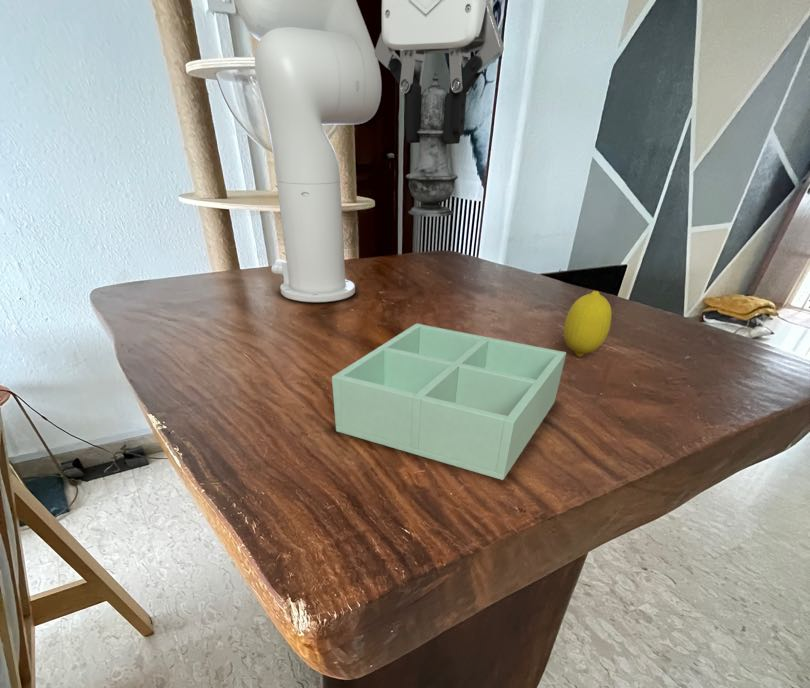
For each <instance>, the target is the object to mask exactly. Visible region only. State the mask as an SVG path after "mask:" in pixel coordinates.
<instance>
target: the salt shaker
mask: <svg viewBox="0 0 810 688" xmlns="http://www.w3.org/2000/svg"><path fill="white" fill-rule="evenodd" d="M431 79H432V82H433V83H432V84H430V86H428V87H426V88H425V89H424V90H423V91H422V92H421V94H422V97H421V129H420V130H419V131H417V133H418V134H419V136H420V143H419V145H418V146H419V148H418V149H419V150H418V151H419V152H418V153H419V154H418V160H417V163H416V164H417V165H416V167H415V169H414V170H412V172H411V173H408V174H406V175H405V178H406V179H408V188H409V192H410V195H411V196H412V197H413V198H414V200H415V201H418V202H419V203H421V204H420V205H418V206H412V207H411V209H409V210H408V212H407V213H408V214H409V215H411V216H417V217H433V218H434V217H447V216H452V215H453V214H454V211H453V210H451V209H450V207H447V206H443V205H442V203H443V202H445V201H447V200H449V198H450V197H451V196H452V194H453V191H454V189H455V181H456V180H457V179H458V178H459V177H458V175H457V174H454V173H453V172H452V171H451V170H450V169H449V167H448V166H449V165H448V159H447V150H448V148H447V146H448V144H445V142H443V129H444V108H445V96H446V94H447V93H448V91H447V90H446V88H444V87H443V86H441V84H439V83H438V81H439V80H440V78H439V76H438V74H437V73H434V75H433V78H431Z"/></svg>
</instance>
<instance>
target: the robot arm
mask: <svg viewBox="0 0 810 688" xmlns="http://www.w3.org/2000/svg"><path fill="white" fill-rule="evenodd" d="M233 2H234V5H235V7H236V9H237V12H238V14H239V16H240V18H241V21H242V22H243V24H244V26H245V28H246V29H247V31H248V32H249V33H250V35H251V36H252V37H253V38H254V39H256V40H257V41H258V43H257V47H256V49H255V54H254V71H255V78H256V84H257V88H258V92H259V97H260V100H261V103H262V107H263V111H264V116H265V119H266V123H267V128H268V132H269V133H268V134H269V138H270V144H271V149H272V157H273V165H274V172H275V179H276V187H277V196H278V203H279V205H278V206H279V212H280V220H281V229H282V237H283V244H284V253H285V259H280V258H279V259H278V258H277V259H275V261H274V263H273V265H271V273H272V274H273V275H281V276H282V277H283V282H282V283H281V284H280V286H279V288H280V294H281V295H282V296H283V297H284V298H286V299H289V300H291V301H296V302H302V303H330V302H338V301H341V300H346V299H348V298H351V297H352V296H353V295H354V294H355V293H356V285H355V283H354V282H353V281H351V280H349V279H346V266H345V265H346V264H345V245H344V226H343V208H342V191H341V187H342V186H341V172H340V171H341V170H340V164H339V160H338V159H339V158H338V155H337V153H336V151H335V149H334V146H333V144H332V143H331V142H332V141H330V138H329V136H328V135H327V132H326V131H325V129H324V127H323V126H327V125H329V126H330V125H331V126H333V125H335V126H336V125H340V126H341V125H343V126H344V125H345V126H346V125H347V126H348V125H349V126H350V125H351V126H352V125H360V124H364V123H366V122H369V120H371V119H372V118H374V116H375V115H376V113H377V111H378V109H379V106H380V103H381V97H382V75H381V68H380V64H379V62H380V63H381V64H382V65H383V66H384V67H385V68H386V69H388V70H389V72H390V73H391V75H392V76H393V78H394V80H395V81H396V82H397V84H398V86H399V90H400V92H401V93H402V94H404V97H403V99H404V103H403V104H404V107H403V109H404V113H403V114H404V115H403V118H404V120H403V127H404V133H406V143H408V144H420V136H419V134H418V133H417V131H419V130H420V129H421V97H422V84H423V78H424V77H423V76H424V69H425V61H426V54H427V55H428V54H429V55H430V54H448V63H449V81H450V85H449V92H447V94H446V96H445V108H444V129H443V142H445V144H447V145H455V144H456V145H458V144H460V140H461V135H463V134H464V130H465V121H466V120H465V119H466V105H467V95H468V94H469V93H470V92H471V91H472V87H473V85H474V84H475V83H476V81H477V80H478V79H479V77H480V76H481V75H482V74H483V72H484V71H485V69H487V68H488V67H489V66H491V65H492V64H493V63H494V62H495V61H496V60H497V59H499V58H500V57H501V56H502V55H503V53H504V50H505V47H504V43H503V40H502V37H501V33H500V31H499V27H498V24H497V20H496V17H495V13H494V0H381V31H380V34H379V37H378V39H377V43H376V46H375V47H374V44H373V42H372V39H371V36H370V33H369V30H368V28H367V25H366V23H365V20H364V18H363V15H362V12H361V9H360V7H359V5H358V1H357V0H233ZM396 51H403V52H402V58H400V56H399V55H398V54H397V53H396ZM476 51H478V52H476ZM472 52H476V54H474V55H472V56H471V53H472Z"/></svg>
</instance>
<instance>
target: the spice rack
mask: <svg viewBox="0 0 810 688" xmlns="http://www.w3.org/2000/svg"><path fill="white" fill-rule="evenodd" d="M566 357H567V352H566V351H561V350H556V349H551V348H547V347H546V348H545V347H541V346H535V345H529V344H525V343H520V342H514V341H510V340H504V339H499V338H494V337H489V336H483V335H478V334H473V333H468V332H463V331H457V330H453V329H447V328H441V327H437V326H432V325H426V324H422V323H418V322H417V323H414V324H413V325H411V326H410V327H408V328H407V329H405V330H404V331H401V332H400V333H399V334H397V335H396V336H393V338H391V339H389V340H388V341H386V342H384V343H383V344H382V345H379V346H378V347H376V348H375V349H374V350H372V351H370V352H368V353H367V354H366V355H364V356H362V357H361V358H358V360H356V361H354V362H353V363H351V364H350V365H347V366H346V367H345V368H343V369H342V370H340V371H339V372H337V373H335V374H334V375H332V376H331V385H332V397H333V409H334V412H333V413H334V421H335V422H334V423H335V431H336V432H338V433H340V434H344V435H347V436H352V437H354V438H358V439H361V440H365V441H368V442H371V443H375V444H378V445H381V446H384V447H389V448H392V449H395V450H399V451H402V452H406V453H409V454H412V455H416V456H419V457H423V458H426V459H429V460H432V461H436V462H440V463H442V464H446V465H450V466H453V467H456V468H459V469H464V470H467V471H470V472H474V473H477V474H480V475H484V476H488V477H491V478H494V479H498V480H501V481H504V479H505V478H506V477H507V475H508V474H509V472H510V470H511V469H512V468H513V466H514V464H515V463H516V462H517V460H518V458H519V457H520V455H521V454H522V452H523V451H524V449H525V448H526V446H527V445H528V444H529V442H530V440H531V438H532V437H533V436H534V434H535V433H536V431H537V430H538V428H539V427H540V425H541V424H542V423H543V421H544V420H545V418H546V416H547V415H548V413H549V412H550V410H551V409H552V407H553V406H554V404H555V402H556V397H557V394H558V390H559V385H560V381H561V378H562V373H563V369H564V365H565V361H566Z"/></svg>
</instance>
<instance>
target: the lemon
mask: <svg viewBox="0 0 810 688" xmlns="http://www.w3.org/2000/svg"><path fill="white" fill-rule="evenodd" d="M611 323H612V306H611V304H610V302H609V300H608V299H607V298H605V296H603V295H602V294H601V293H600V292H599V291H598V290H592V291H591V292H590V293H586V294H584V295H582V296H580V297H579V298H578V299H576V300H575V301H574V303H573V304H572V305H571V306H570V308H569V310H568V312H567V315H566V317H565V321H564V325H563V338H564V342H565V344H566V346H567V347H568V348H569V349H570V350H571V351H573V352H574V353H575V356H577V357H579V358H581V357H583V356H584V355H586V354H588V353H592V352H594V351H596V350H598V348H600V347H601V346H602V344H603V343H604V342H605V341H606V339H607V337H608V335H609V332H610V330H611Z"/></svg>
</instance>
